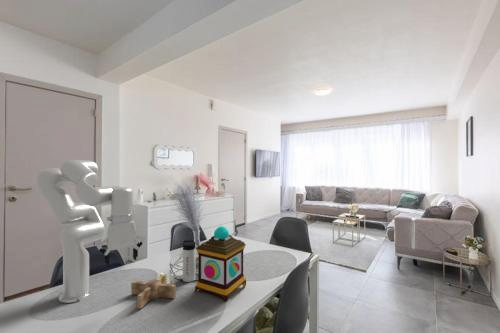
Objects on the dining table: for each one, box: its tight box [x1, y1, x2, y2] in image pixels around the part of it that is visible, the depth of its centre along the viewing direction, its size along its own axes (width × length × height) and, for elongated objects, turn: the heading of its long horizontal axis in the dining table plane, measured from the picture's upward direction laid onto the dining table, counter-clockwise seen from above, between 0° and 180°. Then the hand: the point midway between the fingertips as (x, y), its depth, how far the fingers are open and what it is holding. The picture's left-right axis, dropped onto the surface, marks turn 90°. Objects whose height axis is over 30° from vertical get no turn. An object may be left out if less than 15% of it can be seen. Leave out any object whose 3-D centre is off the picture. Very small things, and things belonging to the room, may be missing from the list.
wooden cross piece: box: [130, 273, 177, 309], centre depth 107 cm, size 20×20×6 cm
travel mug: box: [182, 239, 197, 283], centre depth 124 cm, size 6×7×20 cm
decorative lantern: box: [194, 225, 247, 302], centre depth 116 cm, size 20×20×30 cm
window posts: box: [159, 272, 175, 285], centre depth 119 cm, size 5×5×5 cm
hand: (121, 261), depth 99 cm, fingers open, 9 cm apart
